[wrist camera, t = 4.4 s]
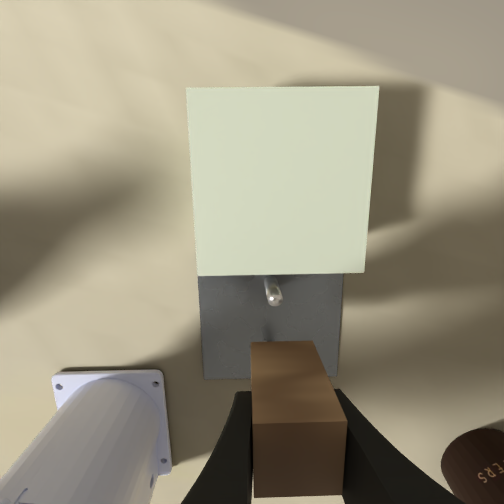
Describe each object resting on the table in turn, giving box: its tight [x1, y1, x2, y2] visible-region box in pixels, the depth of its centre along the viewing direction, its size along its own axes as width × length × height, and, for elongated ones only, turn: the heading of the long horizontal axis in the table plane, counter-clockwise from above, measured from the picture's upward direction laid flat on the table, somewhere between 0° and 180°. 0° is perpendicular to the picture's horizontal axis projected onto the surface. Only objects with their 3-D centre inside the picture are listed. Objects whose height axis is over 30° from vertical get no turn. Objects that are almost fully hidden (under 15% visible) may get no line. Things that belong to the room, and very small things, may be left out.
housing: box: [186, 86, 379, 276], centre depth 15 cm, size 8×8×6 cm
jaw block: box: [251, 341, 347, 498], centre depth 12 cm, size 3×3×5 cm
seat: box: [198, 273, 343, 380], centre depth 19 cm, size 10×10×3 cm
